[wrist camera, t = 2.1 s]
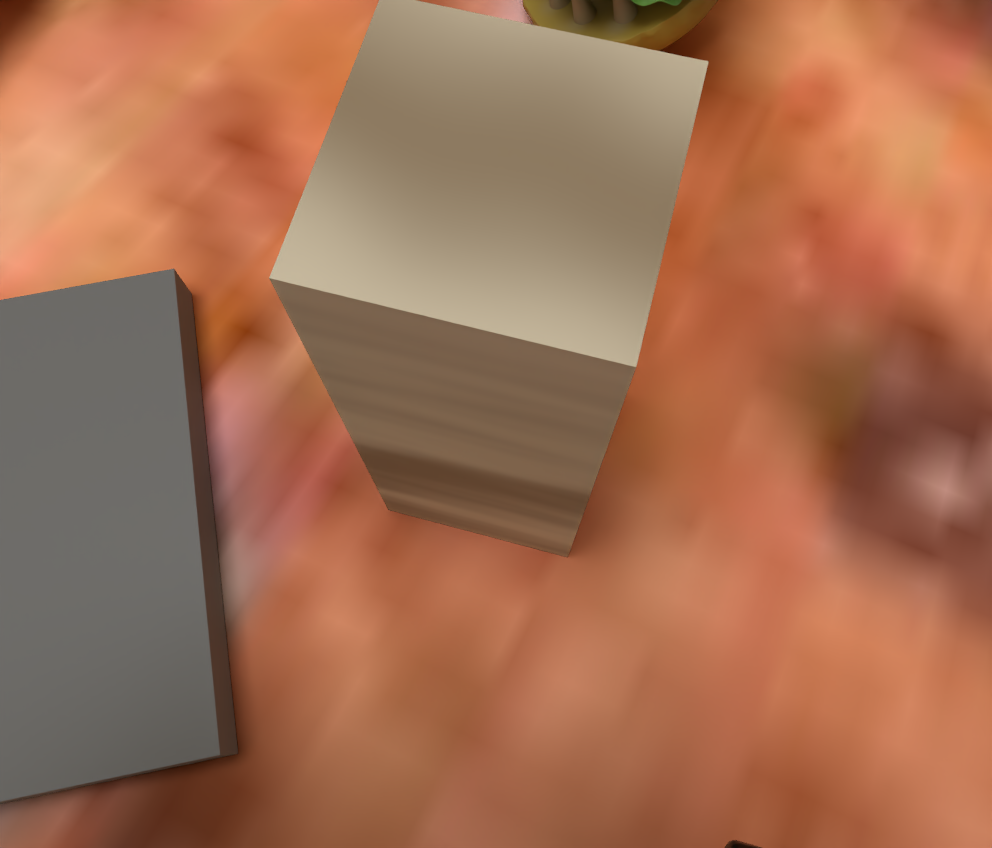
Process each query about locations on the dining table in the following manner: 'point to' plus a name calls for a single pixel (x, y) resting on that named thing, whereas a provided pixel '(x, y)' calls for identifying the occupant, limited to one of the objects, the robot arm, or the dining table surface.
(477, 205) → the birch post
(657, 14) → the hamburger
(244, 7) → the dining table surface
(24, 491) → the charcoal board
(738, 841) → the robot arm
